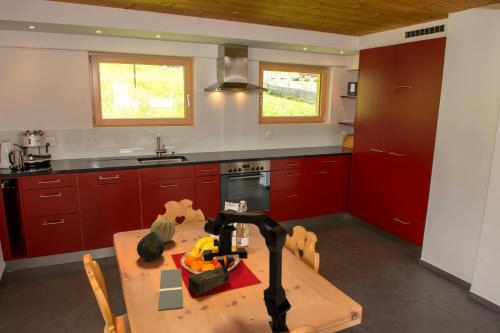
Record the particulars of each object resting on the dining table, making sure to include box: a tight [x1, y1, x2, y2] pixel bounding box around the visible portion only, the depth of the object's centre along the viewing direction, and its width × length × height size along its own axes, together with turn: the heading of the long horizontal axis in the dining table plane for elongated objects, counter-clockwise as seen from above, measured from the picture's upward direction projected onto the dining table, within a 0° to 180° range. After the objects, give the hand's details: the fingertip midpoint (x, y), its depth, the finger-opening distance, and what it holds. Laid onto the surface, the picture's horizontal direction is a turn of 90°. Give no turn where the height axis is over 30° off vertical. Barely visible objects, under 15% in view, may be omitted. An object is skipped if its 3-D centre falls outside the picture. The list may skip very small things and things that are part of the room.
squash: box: [136, 232, 165, 262], centre depth 187 cm, size 14×15×15 cm
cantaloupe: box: [149, 217, 176, 244], centre depth 208 cm, size 15×15×15 cm
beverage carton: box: [187, 265, 230, 297], centre depth 160 cm, size 8×19×7 cm, turn 133°
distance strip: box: [157, 268, 184, 311], centre depth 158 cm, size 34×10×1 cm, turn 13°
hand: (224, 272), depth 147 cm, fingers closed
